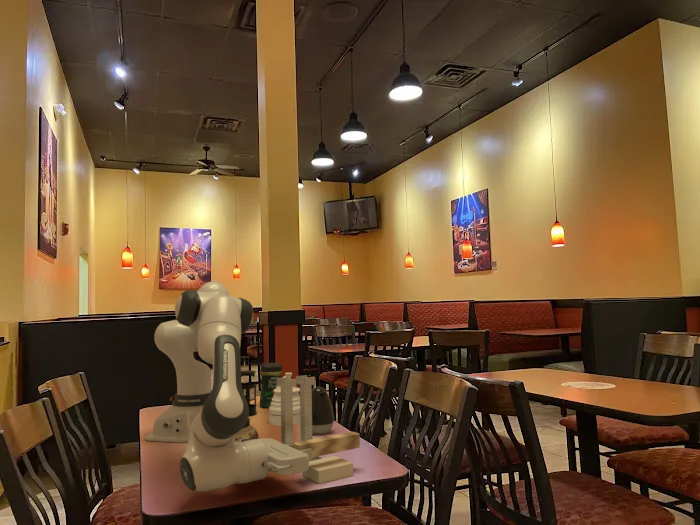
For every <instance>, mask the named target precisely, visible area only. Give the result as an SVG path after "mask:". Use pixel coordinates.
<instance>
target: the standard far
mask: <svg viewBox="0 0 700 525" xmlns="http://www.w3.org/2000/svg"><path fill="white" fill-rule="evenodd" d="M295 379H296V385H299V388H300V391H299V396H300V424H299V425H300V426H299V428H300V430H299V431H300V442H301V441H306V440H311V439H313V434H312V390H313V389H312V386H313V385H314V386H315V385H316V376H309V377H308V375H307V374H305V375H295ZM319 459H323V458H322V456H318V457H313V458H309V462H310V461H314V460H319Z"/></svg>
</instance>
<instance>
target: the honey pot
mask: <svg viewBox="0 0 700 525" xmlns="http://www.w3.org/2000/svg"><path fill="white" fill-rule="evenodd" d="M284 374H285V375H284V376H283V377H282V378H285V377H288V378H289V379H292V378H291V377H292V376H293V373H292V372H285V373H284ZM292 389H293V426H294V425H300V387H297V386H296V387H292ZM273 392H274V396H273V398H272V402H271V406H270V407H269V408H268V413H269V414H268V423H269V425H271V426H272V425H273V426H280V427H281V387H279V386H277V387H276V389H274V390H273Z"/></svg>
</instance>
